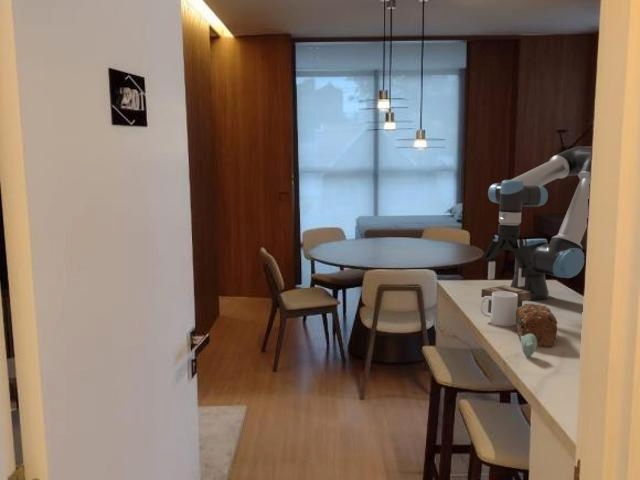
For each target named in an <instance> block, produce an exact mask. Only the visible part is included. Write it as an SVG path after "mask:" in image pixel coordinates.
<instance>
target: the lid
mask: <svg viewBox="0 0 640 480" xmlns="http://www.w3.org/2000/svg"><path fill="white" fill-rule="evenodd" d="M496 291H506V292H513V293H516V294H517V295H518V301H517V302H522V303H523V302H527V301H531V300H530V297H531V292H530V291H526V290H522V289H517V288H513V287H510V286H509V285H498V286H491V287H487V288H482V289H481V294H480V295H481V298H483V297H485V296H491V297H492V293H493V292H496Z"/></svg>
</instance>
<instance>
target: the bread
mask: <svg viewBox="0 0 640 480" xmlns="http://www.w3.org/2000/svg"><path fill="white" fill-rule="evenodd" d="M515 329H516V333H517V336H518V339H519V342H520V343H521V336H525V335H527V334H533V335H535V337H536V339H537V347H541V348H553V347H554V346H555V344H556V340H557V335H558V320H557V318H556V316H555V315H554V313H552V312H551V309H550V308H549V307H547V306H546V305H540V304H534V303H525V304H522V306H521V307H518V308H517V310H516V324H515Z"/></svg>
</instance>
